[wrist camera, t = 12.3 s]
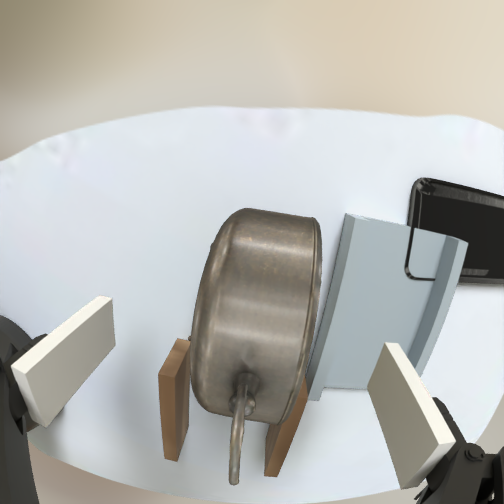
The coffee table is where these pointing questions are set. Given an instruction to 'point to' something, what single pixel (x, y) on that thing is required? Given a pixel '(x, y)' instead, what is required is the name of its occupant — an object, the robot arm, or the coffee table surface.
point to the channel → (177, 411)
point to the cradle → (382, 301)
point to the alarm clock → (255, 319)
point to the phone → (461, 225)
